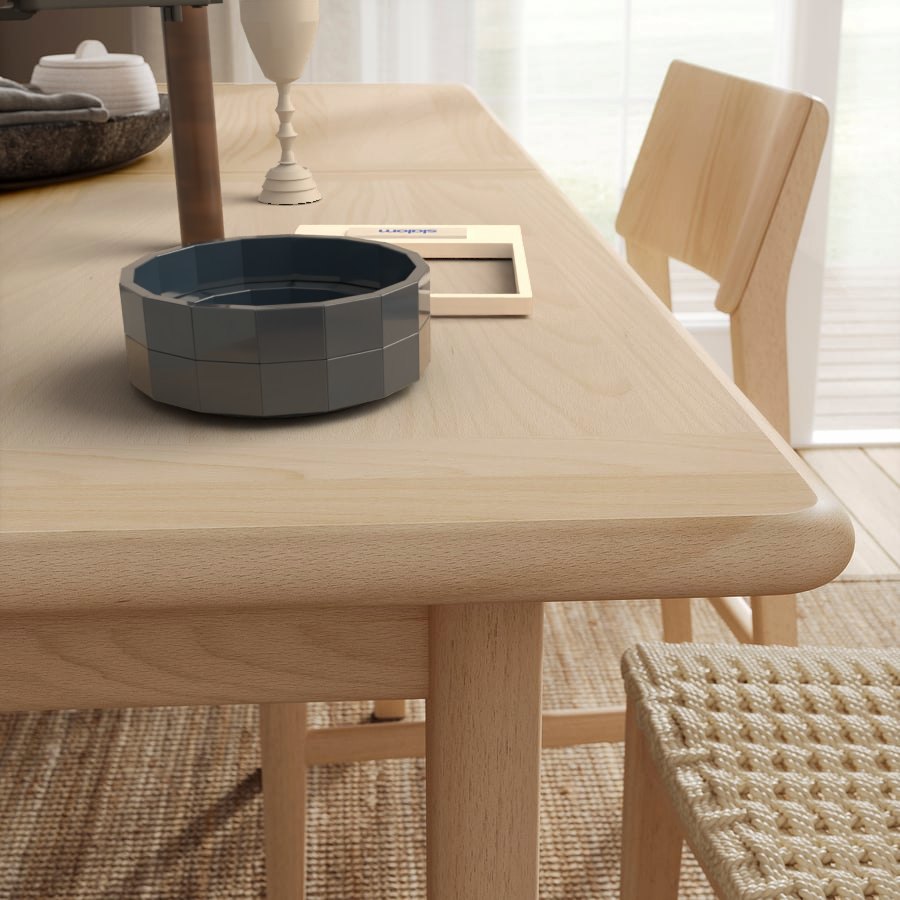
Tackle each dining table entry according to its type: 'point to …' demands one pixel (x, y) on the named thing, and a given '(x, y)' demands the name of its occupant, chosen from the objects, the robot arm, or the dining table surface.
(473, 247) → the photo frame
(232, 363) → the bowl
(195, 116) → the stirring stick
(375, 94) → the dining table surface
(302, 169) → the chalice
